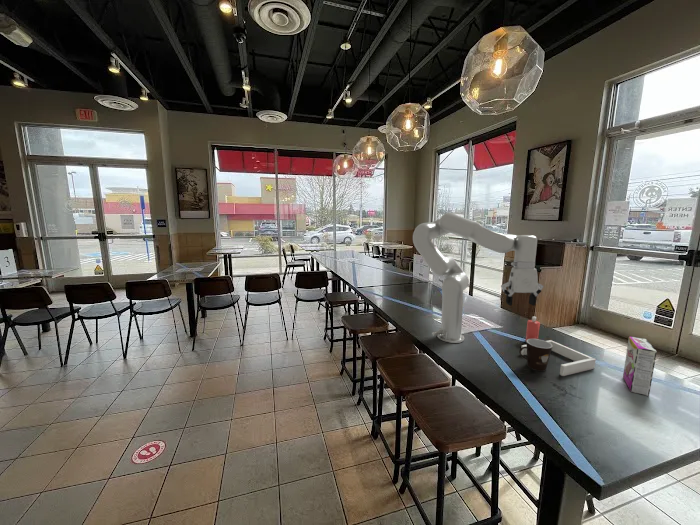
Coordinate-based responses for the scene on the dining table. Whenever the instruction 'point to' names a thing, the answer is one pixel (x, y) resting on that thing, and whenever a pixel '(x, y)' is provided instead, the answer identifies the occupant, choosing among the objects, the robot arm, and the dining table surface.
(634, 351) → the candy bar box
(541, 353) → the coffee mug
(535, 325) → the squeeze bottle
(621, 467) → the dining table surface
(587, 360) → the open u-shaped frame
